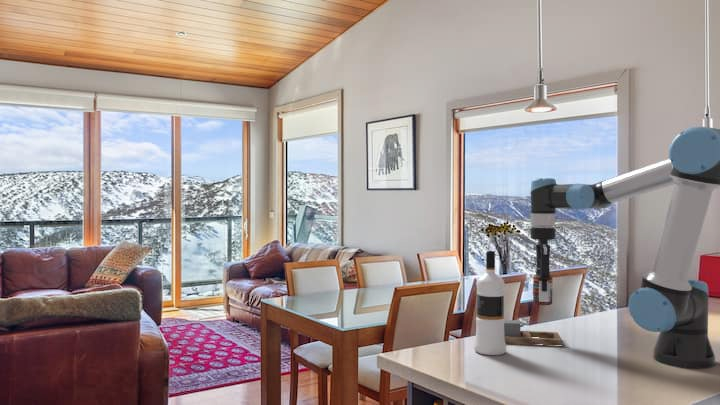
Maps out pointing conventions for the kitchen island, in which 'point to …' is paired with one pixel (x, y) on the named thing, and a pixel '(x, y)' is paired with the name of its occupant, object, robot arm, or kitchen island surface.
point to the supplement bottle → (536, 289)
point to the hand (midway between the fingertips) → (542, 299)
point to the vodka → (490, 311)
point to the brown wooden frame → (526, 338)
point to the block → (512, 328)
